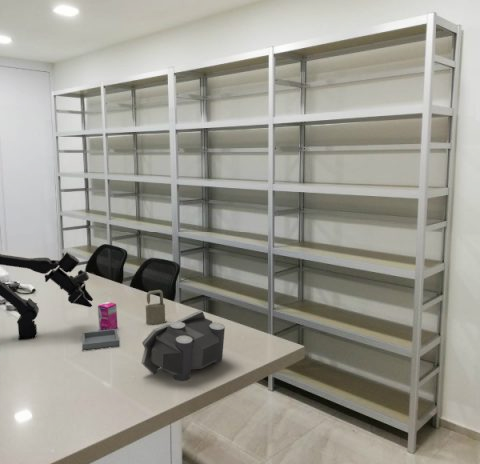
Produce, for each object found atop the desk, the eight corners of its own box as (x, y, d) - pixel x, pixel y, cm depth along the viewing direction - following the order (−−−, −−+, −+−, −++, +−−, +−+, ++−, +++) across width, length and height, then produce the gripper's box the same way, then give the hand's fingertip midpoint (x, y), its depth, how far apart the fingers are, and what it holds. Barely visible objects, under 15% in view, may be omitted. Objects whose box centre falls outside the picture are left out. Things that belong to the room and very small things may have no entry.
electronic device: (132, 371, 177) (193, 343, 200) (174, 397, 165) (233, 364, 188) (134, 324, 172) (195, 301, 195) (177, 346, 160) (237, 319, 183)
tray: (82, 350, 197) (82, 344, 197) (82, 338, 210) (81, 332, 210) (119, 346, 201) (119, 340, 201) (116, 334, 214) (116, 328, 214)
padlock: (145, 322, 229) (144, 290, 227) (163, 320, 233) (162, 288, 230) (148, 325, 226) (146, 292, 223) (165, 322, 229) (164, 290, 227)
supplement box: (98, 330, 220) (97, 305, 218) (108, 326, 225) (106, 301, 223) (108, 332, 217) (107, 306, 215) (118, 328, 222) (116, 303, 221)
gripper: (74, 271, 205) (104, 295, 209) (78, 261, 223) (105, 284, 227) (55, 291, 204) (85, 315, 209) (60, 280, 222) (88, 302, 226)
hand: (91, 303), depth 218 cm, fingers open, 9 cm apart
